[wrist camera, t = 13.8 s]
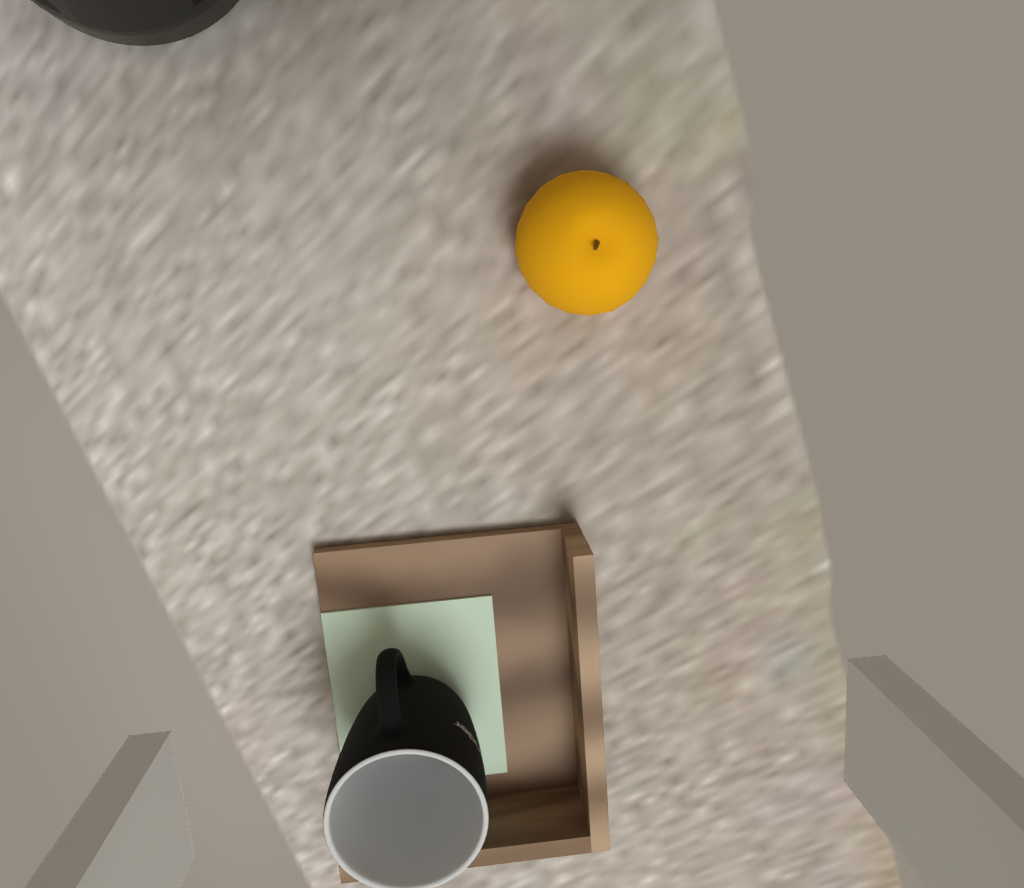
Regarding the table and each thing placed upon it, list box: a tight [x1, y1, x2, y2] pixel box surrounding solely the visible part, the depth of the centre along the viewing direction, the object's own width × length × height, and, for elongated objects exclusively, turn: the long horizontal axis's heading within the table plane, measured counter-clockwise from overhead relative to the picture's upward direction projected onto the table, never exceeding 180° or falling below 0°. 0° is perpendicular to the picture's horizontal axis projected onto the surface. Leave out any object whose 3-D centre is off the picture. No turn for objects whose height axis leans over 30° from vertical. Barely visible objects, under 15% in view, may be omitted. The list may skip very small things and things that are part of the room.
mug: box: [323, 648, 489, 888], centre depth 46 cm, size 12×9×10 cm
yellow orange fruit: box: [515, 170, 658, 315], centre depth 43 cm, size 8×8×8 cm
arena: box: [313, 522, 610, 884], centre depth 49 cm, size 20×17×6 cm
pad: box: [320, 595, 508, 775], centre depth 51 cm, size 13×11×1 cm
